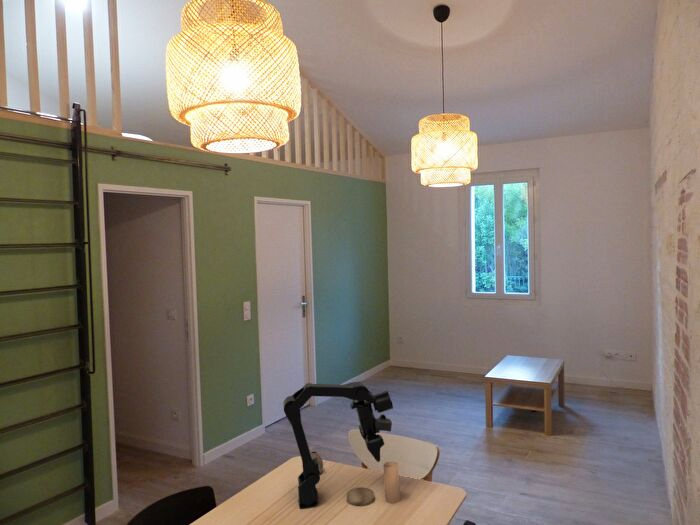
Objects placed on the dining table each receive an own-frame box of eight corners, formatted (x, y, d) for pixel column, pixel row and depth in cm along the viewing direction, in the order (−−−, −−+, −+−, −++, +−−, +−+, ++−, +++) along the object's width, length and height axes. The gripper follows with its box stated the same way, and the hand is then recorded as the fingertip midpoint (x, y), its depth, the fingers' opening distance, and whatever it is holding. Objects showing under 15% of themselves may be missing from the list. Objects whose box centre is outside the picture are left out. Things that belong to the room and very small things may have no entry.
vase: (316, 478, 209) (314, 456, 209) (303, 474, 213) (302, 453, 213) (327, 471, 215) (325, 450, 214) (314, 467, 219) (313, 447, 218)
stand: (349, 508, 184) (349, 502, 184) (344, 495, 194) (344, 489, 194) (377, 503, 186) (376, 498, 186) (370, 490, 196) (370, 485, 196)
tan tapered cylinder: (387, 504, 185) (385, 468, 185) (383, 497, 190) (381, 462, 190) (401, 502, 186) (399, 466, 186) (397, 495, 192) (395, 460, 191)
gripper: (392, 418, 183) (403, 460, 184) (381, 402, 202) (391, 440, 203) (362, 427, 182) (372, 469, 183) (354, 410, 200) (364, 448, 201)
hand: (376, 456), depth 192 cm, fingers open, 9 cm apart
